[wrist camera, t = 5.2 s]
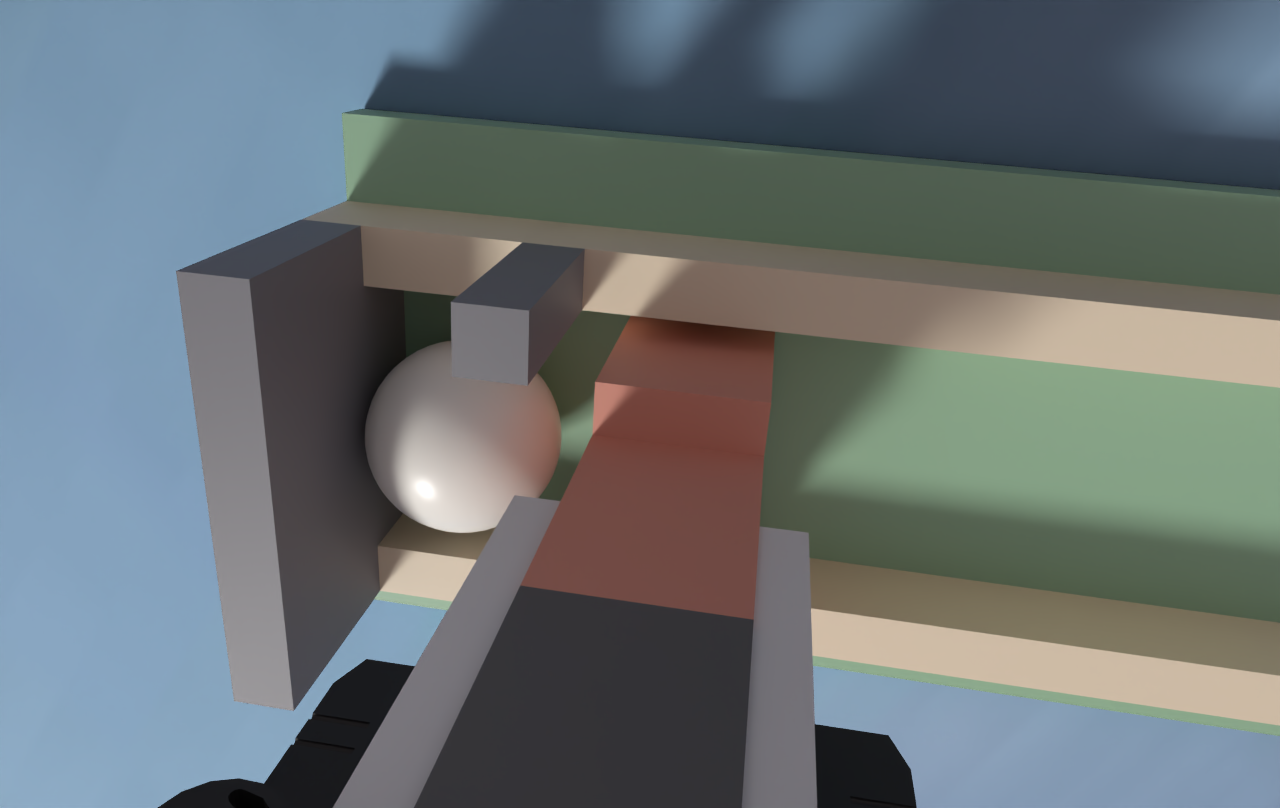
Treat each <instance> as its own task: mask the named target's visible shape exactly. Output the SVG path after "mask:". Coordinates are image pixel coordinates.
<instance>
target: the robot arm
mask: <svg viewBox="0 0 1280 808" xmlns="http://www.w3.org/2000/svg"><path fill="white" fill-rule="evenodd" d="M559 503H560V501H556V500H548V499H540V498H532V497H524V496H516V495H514V497H513V499H512V500H511V502H510V504H509V506H508V507H507V509H506V511H505V513H504V514H503V516H502V518H501V519H500V521H499V523H498V525H497V526H496V528H495V530H494V531H493V533H492V535H491V537H490V538H489V540H488V542H487V543H486V545H485V547H484V549H483V550H482V552H481V554H480V555H479V557H478V559H477V561H476V562H475V564H474V566H473V568H472V569H471V571H470V573H469V574H468V576H467V578H466V580H465V581H464V583H463V585H462V586H461V588H460V590H459V592H458V593H457V595H456V597H455V598H454V600H453V602H452V604H451V605H450V607H449V609H448V611H447V612H446V614H445V616H444V617H443V619H442V621H441V623H440V624H439V626H438V628H437V629H436V631H435V633H434V635H433V636H432V638H431V640H430V641H429V643H428V645H427V647H426V648H425V650H424V652H423V653H422V655H421V657H420V659H419V660H418V662H417V664H416V666H408V665H402V664H395V663H388V662H382V661H375V660H369V659H366V660H365V661H364V662H362V663H361V664H359V665H358V666H357V667H355V668H354V669H352V670H351V671H350V672H348V673H347V674H345V675H344V676H343V677H341V678H340V679H339V680H337V681H336V682H334V683H333V685H332V686H331V688H330V689H329V690H328V692H327V693H326V695H325V696H324V698H323V699H322V701H321V702H320V703H319V705H318V706H317V708H316V709H315V711H314V712H313V716H312V719H308V721H307V722H306V724H305V725H304V727H303V728H302V730H301V731H300V732H299V734H298V735H297V737H296V740H295V743H294V745H291V746H290V747H289V748H288V750H287V751H286V753H285V754H284V756H283V757H282V759H281V760H280V761H279V763H278V764H277V766H276V767H275V769H274V770H273V772H272V773H271V775H270V776H269V777H268V779H267V780H266V782H265V783H264V784H263V783H258V782H253V781H248V780H244V779H229V780H219V781H210V782H207V783H205V784H202V785H199V786H196V787H194V788H191V789H188V790H185V791H183V792H181V793H179V794H178V795H176V796H175V797H173V798H172V799H170V800H169V801H167V802H166V803H164V804H163V805H161V806H160V807H158V808H414V806H415V804H416V802H417V800H418V798H419V796H420V794H421V792H422V790H423V788H424V786H425V783H426V781H427V779H428V777H429V775H430V773H431V771H432V769H433V767H434V765H435V763H436V760H437V758H438V756H439V754H440V752H441V750H442V748H443V746H444V744H445V742H446V740H447V737H448V735H449V733H450V731H451V729H452V727H453V725H454V723H455V721H456V719H457V717H458V714H459V712H460V710H461V708H462V706H463V704H464V702H465V700H466V698H467V696H468V694H469V692H470V689H471V687H472V685H473V683H474V681H475V679H476V677H477V675H478V673H479V671H480V669H481V666H482V664H483V662H484V660H485V658H486V656H487V654H488V652H489V650H490V648H491V646H492V643H493V641H494V639H495V637H496V635H497V633H498V631H499V629H500V627H501V625H502V623H503V620H504V618H505V616H506V614H507V612H508V610H509V608H510V606H511V604H512V602H513V600H514V597H515V595H516V593H517V591H518V589H519V587H520V585H521V583H522V581H523V579H524V577H525V574H526V572H527V570H528V568H529V566H530V564H531V562H532V560H533V558H534V556H535V554H536V552H537V549H538V547H539V545H540V543H541V541H542V539H543V537H544V535H545V533H546V531H547V529H548V526H549V524H550V522H551V520H552V518H553V516H554V514H555V512H556V510H557V508H558V506H559ZM742 808H916V800H915V794H914V787H913V781H912V775H911V769H910V768H909V766H908V765H907V763H906V762H905V760H904V759H903V757H902V756H901V754H900V753H899V751H898V749H897V748H896V746H895V745H894V743H893V742H892V740H891V739H890V737H889V736H888V735H882V734H876V733H869V732H862V731H856V730H849V729H843V728H836V727H829V726H823V725H816V724H815V721H814V688H813V656H812V623H811V591H810V558H809V533H807V532H799V531H792V530H784V529H776V528H768V527H760V529H759V544H758V560H757V576H756V592H755V607H754V623H753V639H752V655H751V670H750V686H749V702H748V718H747V733H746V749H745V765H744V781H743V796H742Z"/></svg>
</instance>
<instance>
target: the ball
mask: <svg viewBox="0 0 1280 808" xmlns="http://www.w3.org/2000/svg"><path fill="white" fill-rule="evenodd" d="M561 440H562V439H561V422H560V416H559V412H558V409H557V405H556V402H555V400H554V398H553V395H552V393H551V391H550V389H549V388H548V386H547V385H546V383H545V381H544V380H543V379H542V377H541V376H540V375H539V374H538V372H537V374H536V375H535V376H534V378H533V379H532V381H531V382H530V383H529V385H528V386H524V385H516V384H508V383H500V382H491V381H483V380H475V379H467V378H458V377H452V346H451V341H445V342H440V343H436V344H433V345H429V346H427V347H425V348H423V349H420V350H418V351H416V352H415V353H413V354H411V355H410V356H408V357H406V358H405V359H404V360H403V361H402V362H400V363H399V364H398V365H397V366H395V367H394V368H393V370H392V371H391V372H390V373H389V374H388V375H387V376H386V377H385V379H384V380H383V382H382V383H381V384H380V386H379V387H378V389H377V391H376V393H375V395H374V397H373V399H372V401H371V404H370V408H369V411H368V414H367V418H366V425H365V449H366V454H367V459H368V463H369V466H370V469H371V472H372V474H373V477H374V479H375V480H376V482H377V484H378V486H379V488H380V489H381V491H382V492H383V493H384V495H385V496H386V497H387V498H388V500H389V501H390V502H391V503H392V504H393V505H394V506H395V507H396V508H397V509H398V510H400V511H401V512H402V513H404V514H405V515H406V516H408V517H409V518H411V519H413V520H415V521H417V522H418V523H420V524H423V525H425V526H428V527H431V528H434V529H438V530H442V531H446V532H455V533H472V532H478V531H485V530H488V529H491V528H495V527H496V526H497V525H498V523H499V521H500V519H501V518H502V516H503V514H504V513H505V511H506V509H507V507H508V506H509V504H510V502H511V500H512V499H513V497H514V495H516V496H524V497H532V498H539V497H540V495H541V494H542V493H543V491H544V490H545V488H546V487H547V485H548V484H549V482H550V480H551V478H552V476H553V474H554V471H555V469H556V466H557V463H558V459H559V455H560V449H561Z"/></svg>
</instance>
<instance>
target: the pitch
mask: <svg viewBox="0 0 1280 808" xmlns="http://www.w3.org/2000/svg"><path fill="white" fill-rule="evenodd" d="M342 122H343V139H344V156H345V174H346V191H347V201H345V202H343V203H341V204H338V205H336V206H333V207H331V208H328V209H326V210H324V211H321V212H319V213H316V214H314V215H311V216H309V217H307V218H304V219H302V220H299V221H297V222H294V223H292V224H290V225H287V226H285V227H282V228H280V229H277V230H275V231H273V232H270V233H268V234H265V235H263V236H260V237H258V238H256V239H253V240H251V241H248V242H246V243H243V244H241V245H239V246H236V247H234V248H231V249H229V250H226V251H224V252H222V253H219V254H217V255H214V256H212V257H209V258H207V259H205V260H202V261H200V262H197V263H195V264H192V265H190V266H188V267H185V268H183V269H180V270H178V271H176V274H177V281H178V289H179V296H180V303H181V311H182V318H183V326H184V333H185V340H186V348H187V355H188V363H189V370H190V377H191V385H192V392H193V400H194V407H195V414H196V422H197V429H198V437H199V444H200V452H201V459H202V466H203V474H204V481H205V489H206V496H207V503H208V511H209V518H210V526H211V533H212V540H213V548H214V555H215V563H216V570H217V577H218V585H219V592H220V600H221V607H222V614H223V622H224V629H225V637H226V644H227V652H228V659H229V666H230V674H231V681H232V689H233V696H234V701H238V702H244V703H250V704H256V705H262V706H268V707H274V708H280V709H286V710H292V711H294V710H295V708H296V707H297V706H298V704H299V703H300V701H301V700H302V699H303V697H304V696H305V694H306V693H307V692H308V690H309V689H310V688H311V686H312V685H313V683H314V682H315V681H316V679H317V678H318V676H319V675H320V674H321V672H322V671H323V669H324V668H325V667H326V665H327V664H328V662H329V661H330V660H331V658H332V657H333V656H334V654H335V653H336V651H337V650H338V649H339V647H340V646H341V644H342V643H343V642H344V640H345V639H346V637H347V636H348V635H349V633H350V632H351V630H352V629H353V628H354V626H355V625H356V624H357V622H358V621H359V619H360V618H361V617H362V615H363V614H364V612H365V611H366V610H367V608H368V607H369V605H370V604H371V603H372V601H373V600H374V599H376V600H382V601H389V602H396V603H402V604H409V605H415V606H422V607H429V608H435V609H442V610H448V609H449V607H450V605H451V604H452V602H453V600H454V598H455V597H456V595H457V593H458V592H459V590H460V588H461V586H462V585H463V583H464V581H465V580H466V578H467V576H468V574H469V573H470V571H471V569H472V568H473V566H474V564H475V562H476V561H477V559H478V557H479V555H480V554H481V552H482V550H483V549H484V547H485V545H486V543H487V542H488V540H489V538H490V537H491V535H492V533H493V531H494V530H495V528H496V527H495V528H491V529H488V530H485V531H478V532H472V533H455V532H446V531H442V530H438V529H434V528H431V527H428V526H425V525H423V524H420V523H418V522H417V521H415V520H413V519H411V518H409V517H408V516H406V515H405V514H404V513H402V512H401V511H400V510H398V509H397V508H396V507H395V506H394V505H393V504H392V503H391V502H390V501H389V500H388V498H387V497H386V496H385V495H384V493H383V492H382V491H381V489H380V488H379V486H378V484H377V482H376V480H375V479H374V477H373V474H372V472H371V469H370V466H369V463H368V459H367V454H366V449H365V425H366V418H367V414H368V411H369V408H370V404H371V401H372V399H373V397H374V395H375V393H376V391H377V389H378V387H379V386H380V384H381V383H382V382H383V380H384V379H385V377H386V376H387V375H388V374H389V373H390V372H391V371H392V370H393V368H394V367H395V366H397V365H398V364H399V363H400V362H402V361H403V360H404V359H405V358H406V357H408V356H410V355H411V354H413V353H415V352H416V351H418V350H420V349H423V348H425V347H427V346H429V345H433V344H436V343H440V342H445V341H451V346H452V377H458V378H467V379H475V380H483V381H491V382H500V383H508V384H516V385H524V386H528V385H529V383H530V382H531V381H532V379H533V378H534V376H535V375H536V374H537V372H538V374H539V375H540V376H541V377H542V379H543V380H544V381H545V383H546V385H547V386H548V388H549V389H550V391H551V393H552V395H553V398H554V400H555V402H556V405H557V409H558V412H559V416H560V422H561V439H562V440H561V449H560V455H559V459H558V463H557V466H556V469H555V471H554V474H553V476H552V478H551V480H550V482H549V484H548V485H547V487H546V488H545V490H544V491H543V493H542V494H541V495H540V497H539V498H540V499H548V500H556V501H561V499H562V497H563V495H564V493H565V491H566V489H567V487H568V485H569V483H570V480H571V478H572V476H573V474H574V472H575V470H576V468H577V466H578V464H579V462H580V460H581V457H582V455H583V453H584V451H585V449H586V447H587V445H588V443H589V441H590V439H591V437H592V432H593V413H594V393H595V381H596V379H597V377H598V376H599V374H600V372H601V370H602V368H603V366H604V364H605V363H606V361H607V359H608V357H609V355H610V353H611V351H612V350H613V348H614V346H615V344H616V342H617V340H618V339H619V337H620V335H621V333H622V331H623V329H624V327H625V326H626V324H627V322H628V320H629V318H630V316H639V317H648V318H657V319H666V320H675V321H684V322H693V323H702V324H711V325H720V326H729V327H738V328H747V329H756V330H765V331H774V332H775V343H774V361H773V380H772V398H771V409H770V416H769V424H768V431H767V438H766V446H765V453H764V466H763V481H762V497H761V513H760V527H768V528H776V529H784V530H792V531H799V532H807V533H809V558H810V591H811V623H812V656H813V666H820V667H826V668H833V669H839V670H846V671H853V672H859V673H866V674H873V675H879V676H886V677H892V678H899V679H906V680H912V681H919V682H926V683H932V684H939V685H945V686H952V687H959V688H965V689H972V690H979V691H985V692H992V693H998V694H1005V695H1012V696H1018V697H1025V698H1032V699H1038V700H1045V701H1051V702H1058V703H1065V704H1071V705H1078V706H1085V707H1091V708H1098V709H1104V710H1111V711H1118V712H1124V713H1131V714H1138V715H1144V716H1151V717H1157V718H1164V719H1171V720H1177V721H1184V722H1191V723H1197V724H1204V725H1210V726H1217V727H1224V728H1230V729H1237V730H1244V731H1250V732H1257V733H1263V734H1270V735H1277V736H1280V190H1273V189H1262V188H1251V187H1240V186H1228V185H1217V184H1206V183H1194V182H1183V181H1172V180H1161V179H1149V178H1138V177H1127V176H1115V175H1104V174H1093V173H1082V172H1070V171H1059V170H1048V169H1036V168H1025V167H1014V166H1003V165H991V164H980V163H969V162H958V161H946V160H935V159H924V158H912V157H901V156H890V155H879V154H867V153H856V152H845V151H833V150H822V149H811V148H800V147H788V146H777V145H766V144H754V143H743V142H732V141H721V140H709V139H698V138H687V137H676V136H664V135H653V134H642V133H630V132H619V131H608V130H597V129H585V128H574V127H563V126H551V125H540V124H529V123H518V122H506V121H495V120H484V119H472V118H461V117H450V116H439V115H427V114H416V113H405V112H394V111H382V110H371V109H359V110H354V111H350V112H345V113H342Z"/></svg>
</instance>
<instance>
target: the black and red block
mask: <svg viewBox="0 0 1280 808" xmlns="http://www.w3.org/2000/svg"><path fill="white" fill-rule="evenodd" d="M774 343H775V332H774V331H765V330H756V329H747V328H738V327H729V326H720V325H711V324H702V323H693V322H684V321H675V320H666V319H657V318H648V317H639V316H630V318H629V320H628V322H627V324H626V326H625V327H624V329H623V331H622V333H621V335H620V337H619V339H618V340H617V342H616V344H615V346H614V348H613V350H612V351H611V353H610V355H609V357H608V359H607V361H606V363H605V364H604V366H603V368H602V370H601V372H600V374H599V376H598V377H597V379H596V381H595V393H594V413H593V432H592V437H591V439H590V441H589V443H588V445H587V447H586V449H585V451H584V453H583V455H582V457H581V460H580V462H579V464H578V466H577V468H576V470H575V472H574V474H573V476H572V478H571V480H570V483H569V485H568V487H567V489H566V491H565V493H564V495H563V497H562V499H561V501H560V503H559V506H558V508H557V510H556V512H555V514H554V516H553V518H552V520H551V522H550V524H549V526H548V529H547V531H546V533H545V535H544V537H543V539H542V541H541V543H540V545H539V547H538V549H537V552H536V554H535V556H534V558H533V560H532V562H531V564H530V566H529V568H528V570H527V572H526V574H525V577H524V579H523V581H522V583H521V585H520V587H519V589H518V591H517V593H516V595H515V597H514V600H513V602H512V604H511V606H510V608H509V610H508V612H507V614H506V616H505V618H504V620H503V623H502V625H501V627H500V629H499V631H498V633H497V635H496V637H495V639H494V641H493V643H492V646H491V648H490V650H489V652H488V654H487V656H486V658H485V660H484V662H483V664H482V666H481V669H480V671H479V673H478V675H477V677H476V679H475V681H474V683H473V685H472V687H471V689H470V692H469V694H468V696H467V698H466V700H465V702H464V704H463V706H462V708H461V710H460V712H459V714H458V717H457V719H456V721H455V723H454V725H453V727H452V729H451V731H450V733H449V735H448V737H447V740H446V742H445V744H444V746H443V748H442V750H441V752H440V754H439V756H438V758H437V760H436V763H435V765H434V767H433V769H432V771H431V773H430V775H429V777H428V779H427V781H426V783H425V786H424V788H423V790H422V792H421V794H420V796H419V798H418V800H417V802H416V804H415V806H414V808H742V796H743V781H744V765H745V749H746V733H747V718H748V702H749V686H750V670H751V655H752V639H753V623H754V607H755V592H756V576H757V560H758V544H759V529H760V513H761V497H762V481H763V466H764V453H765V446H766V438H767V431H768V424H769V416H770V409H771V398H772V380H773V361H774Z"/></svg>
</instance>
